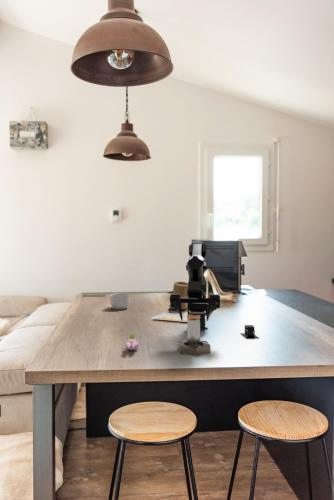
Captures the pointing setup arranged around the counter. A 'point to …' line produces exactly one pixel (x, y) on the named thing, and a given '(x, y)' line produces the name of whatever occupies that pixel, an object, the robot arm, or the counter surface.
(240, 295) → the counter surface
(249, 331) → the black flanged block
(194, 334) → the grey copper-topped cylinder
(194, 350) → the ring nut
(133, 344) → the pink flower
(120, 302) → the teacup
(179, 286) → the stone cup
